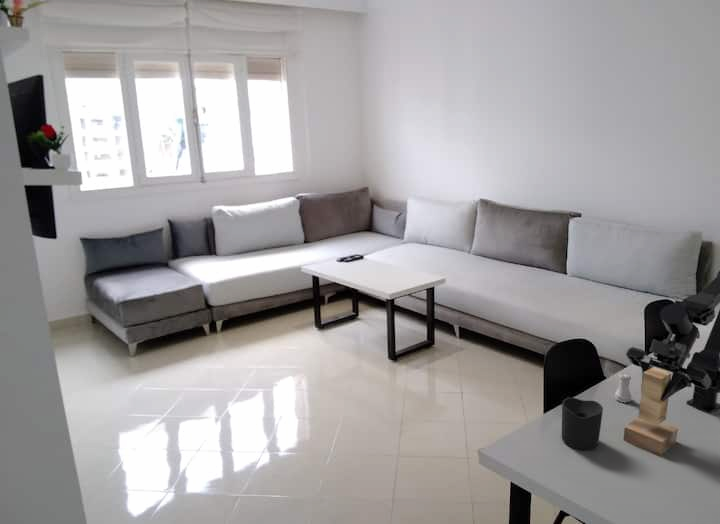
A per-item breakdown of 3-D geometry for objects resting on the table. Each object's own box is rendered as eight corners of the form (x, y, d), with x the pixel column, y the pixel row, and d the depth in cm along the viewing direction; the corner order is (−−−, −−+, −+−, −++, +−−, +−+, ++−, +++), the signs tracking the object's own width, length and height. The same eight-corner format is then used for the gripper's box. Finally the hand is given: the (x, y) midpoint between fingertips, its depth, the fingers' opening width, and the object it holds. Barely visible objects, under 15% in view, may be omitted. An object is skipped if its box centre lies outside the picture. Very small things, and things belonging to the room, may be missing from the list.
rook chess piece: (633, 403, 156) (635, 378, 154) (616, 402, 156) (618, 377, 154) (628, 396, 160) (631, 371, 158) (612, 395, 161) (614, 370, 159)
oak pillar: (647, 412, 139) (652, 367, 136) (665, 419, 136) (671, 373, 132) (638, 417, 137) (643, 372, 134) (656, 425, 133) (661, 378, 130)
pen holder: (580, 456, 132) (583, 419, 130) (551, 437, 140) (554, 402, 138) (608, 445, 136) (611, 409, 134) (578, 427, 144) (581, 393, 142)
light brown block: (639, 428, 144) (640, 414, 143) (675, 442, 137) (677, 428, 136) (623, 441, 138) (624, 427, 137) (660, 456, 131) (662, 442, 131)
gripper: (632, 317, 140) (605, 368, 137) (711, 339, 125) (682, 397, 122) (646, 338, 146) (619, 387, 143) (722, 361, 131) (695, 417, 128)
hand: (652, 396), depth 134 cm, fingers closed on oak pillar, 4 cm apart
